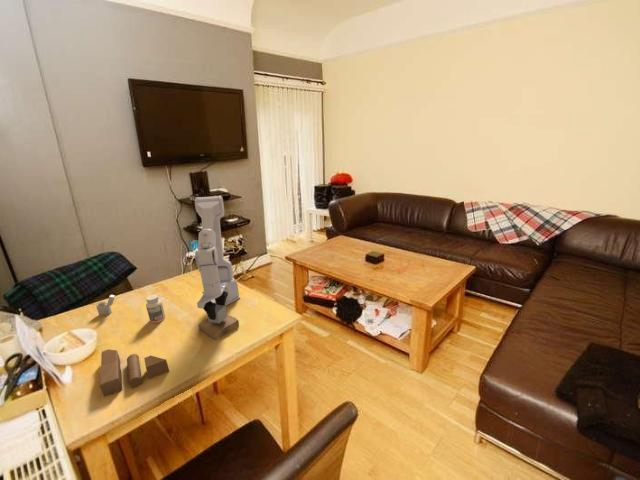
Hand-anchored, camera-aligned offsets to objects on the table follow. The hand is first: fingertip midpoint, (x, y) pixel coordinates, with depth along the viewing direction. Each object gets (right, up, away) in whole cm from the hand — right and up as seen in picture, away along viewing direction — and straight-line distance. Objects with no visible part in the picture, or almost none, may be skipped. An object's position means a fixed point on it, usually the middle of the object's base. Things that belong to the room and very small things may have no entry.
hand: (217, 315), depth 114 cm
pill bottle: (-26, -4, +9) cm, 27 cm away
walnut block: (0, -6, +2) cm, 6 cm away
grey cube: (0, -2, +1) cm, 2 cm away
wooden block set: (-20, -13, -16) cm, 29 cm away
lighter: (-48, -3, +14) cm, 50 cm away
